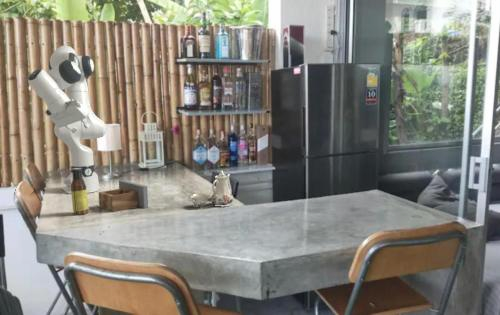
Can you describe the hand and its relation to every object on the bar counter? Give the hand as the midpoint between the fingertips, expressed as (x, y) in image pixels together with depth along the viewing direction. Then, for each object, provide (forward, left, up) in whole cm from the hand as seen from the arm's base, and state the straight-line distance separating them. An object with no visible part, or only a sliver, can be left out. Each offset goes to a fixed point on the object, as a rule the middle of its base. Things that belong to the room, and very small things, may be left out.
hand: (81, 129), depth 190 cm
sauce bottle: (+5, -5, -36) cm, 37 cm away
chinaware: (+36, +47, -36) cm, 69 cm away
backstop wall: (+7, +19, -36) cm, 42 cm away
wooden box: (+7, +12, -36) cm, 39 cm away
